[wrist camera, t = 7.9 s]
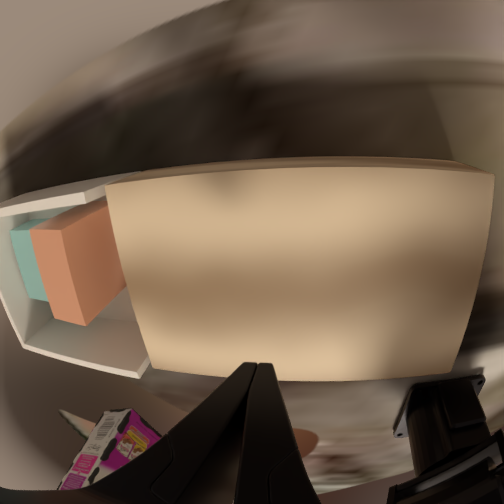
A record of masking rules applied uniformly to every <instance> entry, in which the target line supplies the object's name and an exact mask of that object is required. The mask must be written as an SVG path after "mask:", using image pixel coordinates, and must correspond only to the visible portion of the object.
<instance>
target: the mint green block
mask: <svg viewBox="0 0 504 504" xmlns="http://www.w3.org/2000/svg"><path fill="white" fill-rule="evenodd" d="M48 219H50V218H44V219H32V220H30V221H28V222H26V223H24V224H22V225H20V226H18V227H16V228H14V229H12V230H10V231H9V232H10V236H11V240H12V244H13V248H14V252H15V255H16V259H17V262H18V265H19V269H20V272H21V275H22V278H23V281H24V284H25V287H26V290H27V293H28V296H29V298H33V299H37V300H42V301H47V302H49V301H48V298H47V295H46V292H45V289H44V285H43V282H42V279H41V275H40V272H39V268H38V264H37V261H36V257H35V253H34V249H33V245H32V240H31V236H30V231H29V229H30V228H32V227H34V226H36V225H38V224H40V223H42V222H44V221H46V220H48Z"/></svg>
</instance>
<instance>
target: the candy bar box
mask: <svg viewBox="0 0 504 504" xmlns="http://www.w3.org/2000/svg"><path fill="white" fill-rule="evenodd" d="M161 437H163V436H161V435H160V434H159V433H158V432H157V431H156V430H155V429H154V428H152V427H151V426H150V425H149V424H148V423H147V422H146V421H145V420H144V419H143V418H141V416H140V415H138V414H137V413H136V412H135V411H134V410H133V409H131V408H125V409H115V410H106V411H105V412H104V413H103V414H102V416H101V418H100V419H99V421H98V422H97V424H96V425H95V427H94V429H93V430H92V432H91V434H90V435H89V437H88V438H87V440H86V441H85V443H84V445H83V447H82V448H81V450H80V452H79V453H78V455H77V457H76V458H75V460H74V461H73V463H72V465H71V466H70V468H69V470H68V471H67V473H66V475H65V476H64V478H63V480H62V481H61V483H60V485H59V486H58V488H57V490H70V489H78V488H82V487H85V486H88V485H91V484H93V483H95V482H97V481H98V480H100V479H102V478H104V477H105V476H107V475H109V474H110V473H112V472H114V471H115V470H117V469H118V468H120V467H122V466H123V465H125V464H126V463H128V462H130V461H131V460H133V459H134V458H135V457H137V456H138V455H140V454H141V453H143V452H144V451H145V450H147V449H148V448H149V447H150V446H152V445H153V444H154V443H155V442H157V441H158V440H159V439H160V438H161Z"/></svg>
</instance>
